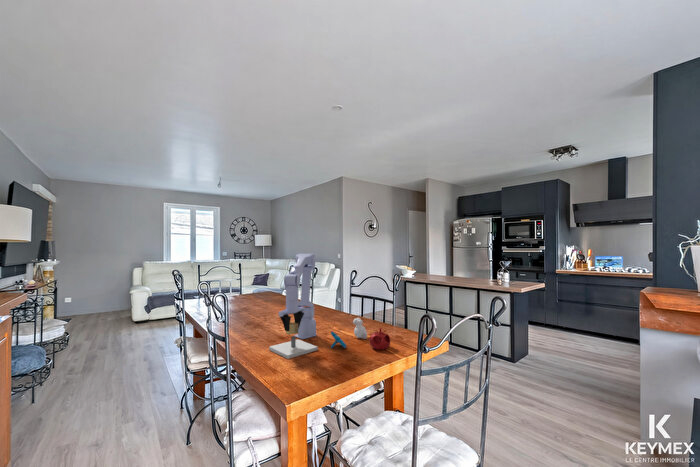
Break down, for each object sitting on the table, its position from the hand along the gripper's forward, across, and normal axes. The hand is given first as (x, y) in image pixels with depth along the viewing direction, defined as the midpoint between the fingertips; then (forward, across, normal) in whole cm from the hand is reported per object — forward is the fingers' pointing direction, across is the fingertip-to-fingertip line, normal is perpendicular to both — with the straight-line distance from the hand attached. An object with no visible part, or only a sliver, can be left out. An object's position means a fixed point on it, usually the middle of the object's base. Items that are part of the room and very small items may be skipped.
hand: (292, 329), depth 145 cm
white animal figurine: (+10, -34, +14) cm, 38 cm away
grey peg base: (+9, 0, +1) cm, 9 cm away
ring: (+1, 0, 0) cm, 1 cm away
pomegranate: (+10, -26, +31) cm, 42 cm away
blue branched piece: (+10, -16, +15) cm, 24 cm away
